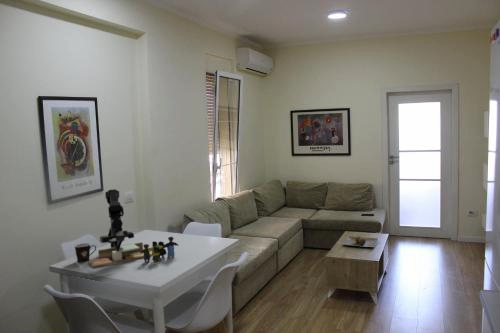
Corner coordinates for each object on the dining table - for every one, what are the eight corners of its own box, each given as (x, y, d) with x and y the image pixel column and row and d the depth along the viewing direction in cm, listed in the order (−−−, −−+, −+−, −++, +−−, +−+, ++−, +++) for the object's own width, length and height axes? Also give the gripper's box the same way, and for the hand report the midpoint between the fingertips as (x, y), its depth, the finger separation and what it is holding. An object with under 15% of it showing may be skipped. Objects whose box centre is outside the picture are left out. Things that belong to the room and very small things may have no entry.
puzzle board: (88, 263, 247) (87, 252, 247) (144, 252, 267) (143, 241, 266) (94, 269, 237) (93, 257, 236) (151, 257, 256) (150, 246, 255)
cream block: (112, 260, 251) (111, 251, 251) (119, 258, 254) (119, 249, 253) (114, 261, 247) (114, 252, 247) (122, 260, 250) (121, 251, 249)
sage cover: (116, 248, 255) (115, 244, 255) (133, 245, 261) (133, 241, 261) (121, 252, 246) (121, 248, 246) (139, 248, 252) (139, 244, 252)
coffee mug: (74, 264, 248) (73, 247, 247) (77, 260, 256) (76, 244, 255) (94, 262, 250) (93, 245, 249) (97, 258, 258) (96, 242, 257)
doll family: (171, 254, 261) (170, 233, 260) (180, 256, 255) (179, 235, 254) (139, 263, 243) (138, 241, 242) (149, 266, 237) (147, 243, 236)
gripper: (103, 230, 234) (105, 257, 235) (136, 225, 244) (137, 251, 246) (98, 227, 243) (100, 253, 244) (130, 222, 253) (131, 247, 255)
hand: (117, 251), depth 247 cm, fingers closed
